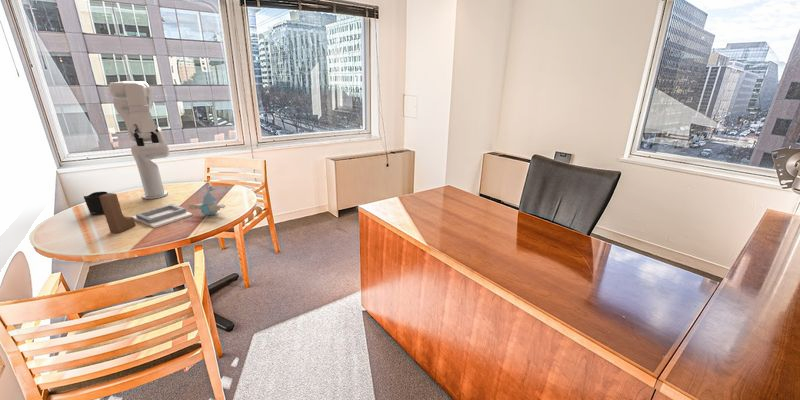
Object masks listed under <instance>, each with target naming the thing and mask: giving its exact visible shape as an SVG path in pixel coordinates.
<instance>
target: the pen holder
mask: <svg viewBox="0 0 800 400" xmlns="http://www.w3.org/2000/svg"><path fill="white" fill-rule="evenodd" d="M107 193H108V191H95V192H92V193H90V194H88V195H83V199H84V201H85V204H86V207H87V209H88V211H89V214H90V215H92V216H100V215H105V214H104V211H103V207H102V204H101V201H100V198H99V196H101V195H104V194H107Z"/></svg>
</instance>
